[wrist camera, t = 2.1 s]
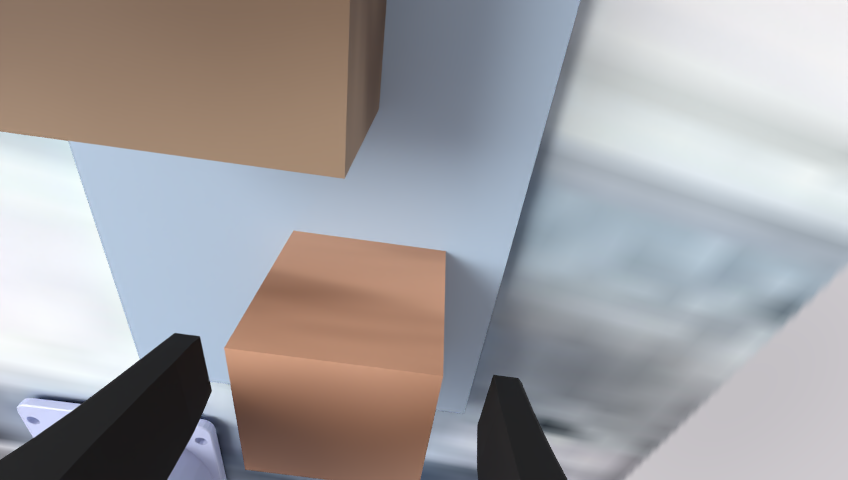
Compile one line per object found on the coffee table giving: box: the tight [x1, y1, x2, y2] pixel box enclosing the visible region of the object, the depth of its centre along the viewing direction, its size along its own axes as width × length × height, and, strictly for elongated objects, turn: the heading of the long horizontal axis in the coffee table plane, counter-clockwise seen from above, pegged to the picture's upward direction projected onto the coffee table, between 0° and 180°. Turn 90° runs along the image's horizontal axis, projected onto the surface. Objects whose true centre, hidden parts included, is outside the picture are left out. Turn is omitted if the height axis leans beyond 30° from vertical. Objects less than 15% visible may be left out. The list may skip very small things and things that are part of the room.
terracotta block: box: [224, 231, 446, 480], centre depth 12 cm, size 4×4×4 cm
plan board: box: [68, 0, 580, 414], centre depth 12 cm, size 18×12×1 cm, turn 173°
